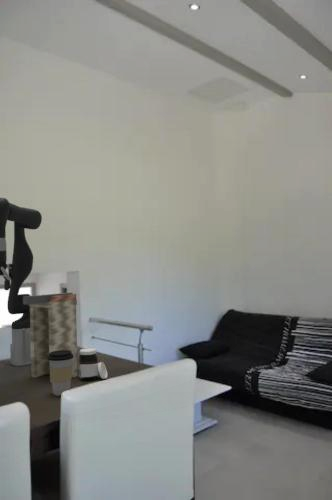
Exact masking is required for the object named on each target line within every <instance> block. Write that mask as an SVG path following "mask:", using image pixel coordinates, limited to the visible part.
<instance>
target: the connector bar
mask: <svg viewBox="0 0 332 500" xmlns="http://www.w3.org/2000/svg"><path fill="white" fill-rule="evenodd" d="M70 294H74V293H73V292H60V293H51V294H39V295H31V296H25V297H23V304H25V305H28V304H38V303H48V302H51V296H60V295H70Z"/></svg>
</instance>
